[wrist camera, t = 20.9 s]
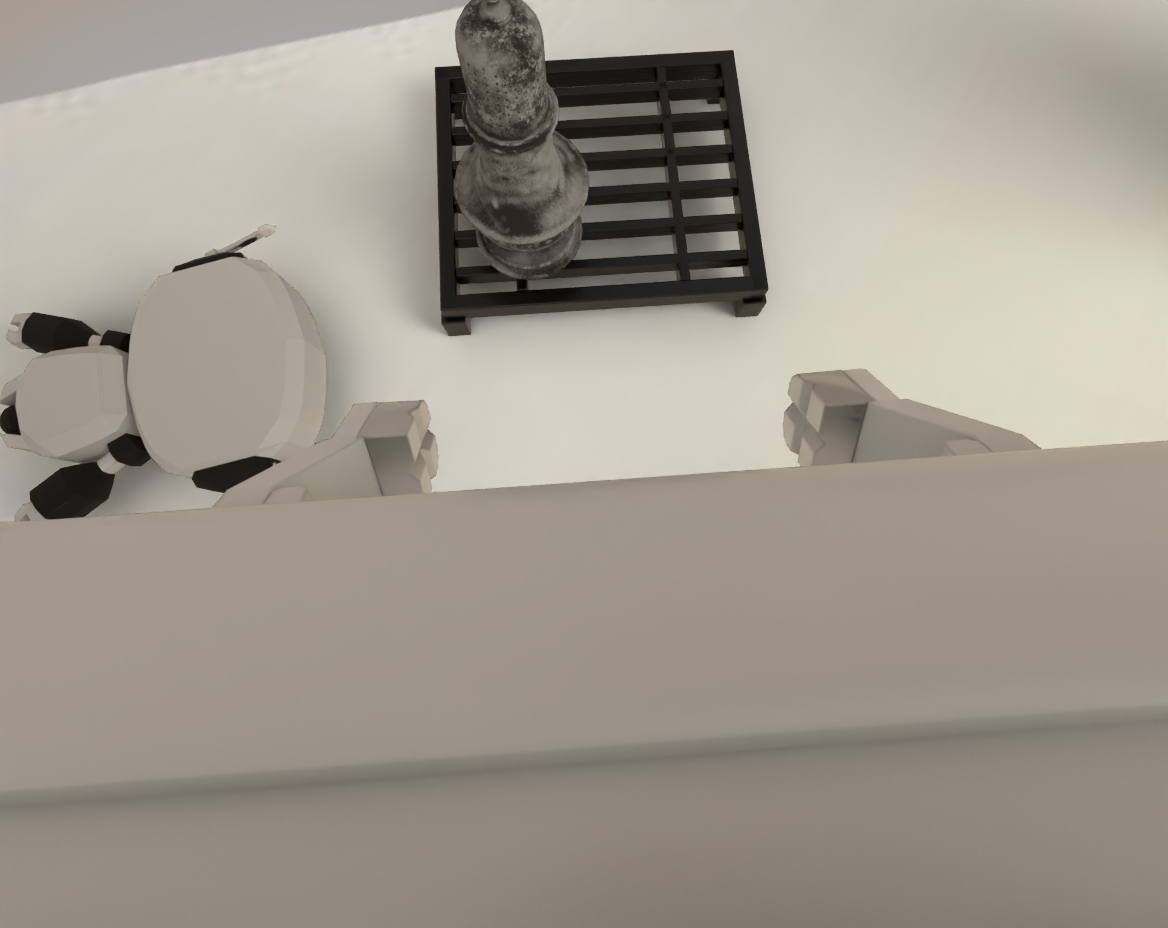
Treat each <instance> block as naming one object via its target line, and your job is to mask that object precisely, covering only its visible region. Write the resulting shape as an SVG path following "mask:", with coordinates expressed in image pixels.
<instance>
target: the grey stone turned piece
mask: <svg viewBox="0 0 1168 928" xmlns="http://www.w3.org/2000/svg"><path fill="white" fill-rule="evenodd" d="M455 40H456V49H457V53H458V57H459V61H460V65H461V70H462V74H463V78H464V82H465V86H466V90H467V93H466V95H465V97H464V100H463V105H462V116H463V122H464V125H465V127H466V129H467V132H468V133H469V134H470V136H471V137H472V138H473V139H474V140H475V142H474V143H473V144H472V145H471V146H470V147H469V148H468V149H467V150H466V151H465V153H464V155H463V156H462V158H461V160H460V162H459V164H458V166H457V170H456V175H455V180H454V186H455V196H456V200H457V202H458V205H459V207H460V210H461V212H462V214H463V215H464V216H465V218H466V219H467V220H468V221H469V223H470V224H471V225H472V226H473V227H474V228H476V236H477V243H478V246H479V248H480V251H481V253H482V255H483V256H484V258H485V259H486V260H487V262H488V263H489V264H490V265H491V266H492V267H494V268H495V269H496V270H498V271H499V272H500V273H502V274H505V275H507V276H510V277H513V278H517V279H525V280H532V279H541V278H544V277H547V276H550V275H552V274H555V273H557V272H558V271H560V270H561V269H563V268H564V267H565V266H567V265H568V263H569V262H570V261H571V260H572V259H573V258H574V256H575V255H576V253H577V251H578V249H579V246H580V244H581V239H582V232H583V229H582V222H581V217H580V213H581V211H582V209H583V207H584V205H585V203H586V201H587V196H588V190H589V176H588V170H587V166H586V164H585V161H584V159H583V157H582V155H581V153H580V152H579V150H578V149H577V148H576V147H575V146H574V145H573V144H572V142H571V141H570V140H568V139H567V138H565V137H564V136H562V135H561V134H559V133H558V132H556V131H554V130H555V127H556V125H557V123H558V117H559V106H558V99H557V97H556V95H555V93H554V91H553V89H552V88H551V87H550V86H549V85H548V83H547V81H546V68H545V54H544V41H543V34H542V29H541V26H540V23H539V20H538V18H537V16H536V14H535V13H534V12H533V11H532V9H531V8H530V7H529V6H528V5H527V4H526V3H525V2H524V1H522V0H471V1H470V2H469V3H468V4H467V5H466V6H465V8H464V10H463V11H462V13H461V15H460V17H459V19H458V21H457V25H456V30H455Z"/></svg>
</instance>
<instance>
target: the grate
mask: <svg viewBox="0 0 1168 928" xmlns="http://www.w3.org/2000/svg"><path fill="white" fill-rule="evenodd" d="M545 68H546V81H547V83H548V85H549V86H550V87H551V88H552V89H553V91H554V93H555V95H556V97H557V99H558V106H559V108H560V107H577V106H594V105H611V104H628V103H645V102H657V106H658V115H649V116H633V117H616V118H599V119H582V120H565V121H558V123H557V125H556V127H555V130H554V131H556V132H558V133H559V134H561V135H562V136H564V137H565V138H567V139H582V138H599V137H615V136H632V135H649V134H661V141H662V148H659V149H642V150H626V151H609V152H593V153H581V155H582V157H583V159H584V161H585V164H586V166H587V170H588V171H600V170H617V169H633V168H650V167H664V168H665V176H666V183H650V184H633V185H617V186H601V187H589V190H588V196H587V201H586V203H585V205H601V204H618V203H634V202H650V201H666V200H668V203H669V212H670V218H658V219H642V220H626V221H610V222H594V223H582V229H583V232H582V239H581V241H584V240H599V239H615V238H631V237H647V236H663V235H672V238H673V247H674V254H664V255H648V256H633V257H617V258H601V259H585V260H571V261H570V262H569V263H568V265H567V266H565V267H564V268H563V269H561V270H560V271H558V272H557V273H555V274H552V275H550V276H547V277H544V278H541V279H551V278H567V277H583V276H598V275H614V274H630V273H645V272H661V271H676V274H677V281H668V282H653V283H637V284H621V285H606V286H590V287H575V288H559V289H544V290H528V280H525V279H517V278H513V277H510V276H507V275H505V274H502V273H500V272H499V271H498V270H496V269H495V268H494V267H492V266H475V267H459V248H472V247H479V246H478V243H477V236H476V230H465V231H458V213H462V212H461V210H460V207H459V205H458V202H457V200H456V196H455V186H454V180H455V175H456V170H457V166H458V164H459V162H460V161H456V146H465V145H472V144H473V143H474V142H475V140H474V139H473V138H472V137H471V136H470V134H469V133H468V132H467V129H466V127H465V126H464V127H455V119H463V116H462V105H463V100H464V97H465V95H466V94H461V93H467V90H466V86H465V82H464V78H463V74H462V70H461V66H448V67H435V91H436V133H437V176H438V218H439V260H440V306H441V319H442V325H443V327H444V329H445V330H446V332H447V334H448V336H457V335H470V334H471V320H470V318H474V317H489V316H505V315H520V314H535V313H551V312H566V311H582V310H597V309H612V308H628V307H643V306H658V305H674V304H689V303H705V302H720V301H734V308H735V316H736V317H746V316H757V315H758V314H759V313H760V311H761V310H762V308H763V307H764V305H765V304H766V296H765V294H766V292H767V291H768V283H767V276H766V269H765V262H764V255H763V249H762V242H761V235H760V228H759V221H758V215H757V208H756V201H755V194H754V187H753V181H752V174H751V167H750V160H749V153H748V147H747V140H746V133H745V126H744V119H743V113H742V106H741V99H740V92H739V85H738V79H737V72H736V65H735V58H734V51H733V50H727V51H709V52H692V53H674V54H657V55H640V56H622V57H605V58H587V59H570V60H553V61H545ZM701 79H706V80H701ZM684 80H689V81H684ZM667 81H672V82H667ZM650 82H655V83H650ZM633 83H638V84H633ZM615 84H620V85H615ZM598 85H603V86H598ZM581 86H586V87H581ZM564 87H569V88H564ZM696 99H707V103H708V104H719V103H720V107H721V111H717V112H700V113H683V114H671V110H670V102H669V101H679V100H696ZM716 130H724V136H725V143H726V144H725V145H709V146H692V147H676V148H675V144H674V136H673V133H682V132H699V131H716ZM716 163H728V165H729V172H730V179H715V180H699V181H682V182H679V178H678V170H677V166H683V165H699V164H716ZM731 196H733V201H734V208H735V214H722V215H706V216H690V217H683V212H682V203H681V200H682V199H698V198H715V197H731ZM585 205H584V206H585ZM727 231H738V237H739V244H740V250H727V251H711V252H696V253H687V246H686V237H685V234H695V233H711V232H727ZM739 266H743V273H744V277H730V278H715V279H699V280H690V271H689V270H692V269H708V268H723V267H739ZM532 280H536V279H532ZM505 281H517V291H513V292H497V293H482V294H466V295H460V284H473V283H489V282H505Z"/></svg>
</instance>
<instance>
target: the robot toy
mask: <svg viewBox="0 0 1168 928" xmlns="http://www.w3.org/2000/svg"><path fill="white" fill-rule="evenodd" d="M275 228H276V225H270V224H265V225H263V226H261V227H259V228H258V230H257V231H256V232H254V233H252V234H250V235H248V236H246V237H244V238H242V239H240V240H239V241H237V242H235V243H233V244H231V245H229V246H227V247H225V248H223V249H222V250H220V251H217V250H215V249H213V250H212V251H210V252H208V253H206V254H205V257H203V258H199V259H195V260H193V261H190V262H188V263H184V264H181V265H178V266H175V268H174V269H173V271H172V273H169V274H165V275H162V276H159V277H158V278H157V279H156V281H155V282H154V283H153V285H152V286H151V287H150V289H149V290H148V291H147V293H146V294H145V295H144V297H143V298H142V300H141V301H140V302H139V305H138V308H137V311H136V314H135V318H134V323H133V327H132V332H131V334H127V333H122V332H116V331H110V330H107V332H106V333H105V334H104V335H103V336H100V335H99V334H98V333H97V332H96V331H94V330H93V329H92V328H90V327H89V326H88V325H86V324H85V323H83V322H82V321H79V320H74V319H69V318H64V317H58V316H52V315H46V314H41V313H35V312H33V313H24V314H15V316H14V317H13V319H12V321H11V324H12V325H16V326H18V327H19V329H18V331H17V332H14V331H11V330H9V329H8V332H7V334H6V339H7V340H8V341H9V342H10V343H11V344H12V345H15V346H17V347H19V348H21V349H33V350H35V351H36V352H40V353H45V354H44V355H42V356H39V357H37V358H35V359H33V360H32V361H31V362H30V363H29V365H28V367H27V368H26V370H25V371H24V373H23V374H22V375H20V376H18V377H17V378H15V379H14V380H12V381H11V382H9V383H7V384H6V385H5V386H4V389H3V391H2V393H1V396H0V404H4V405H8V406H10V407H8V408H6V409H5V410H4V411H3V413H2V414H1V416H0V426H1V428H2V430H3V431H4V432H5V433H6V434H4V433H0V436H1V437H2V439H3V440H4V442H5V443H6V445H7V447H11V448H16V449H22V450H27V451H32V452H35V453H37V454H38V455H40V456H45V457H50V458H56V459H61V460H67V461H72V462H77V463H83V464H79V465H74V466H69V467H64V468H61V469H59V470H58V471H57V472H55V473H54V474H53V475H51V476H50V477H49V478H47V479H46V480H45V481H43V482H42V483H41V484H39V485H38V486H37V487H35V488H34V489H33V490H31V491H30V501H31V502H30V503H26V504H23V506H22V507H21V508H20V509H19V510H18V512H17V513H16V514H15V515H14V518H15V521H38V520H52V519H66V518H81V517H85V516H86V515H87V514H89V513H90V512H91V511H93V510H94V509H95V508H97V507H98V506H99V505H100V504H102V503H103V502H104V501H106V500H107V499H108V498H109V495H110V492H111V489H112V485H113V482H114V477H115V474H116V473H117V472H118V471H119V470H121V469H122V468H123V467H125V466H126V465H129V466H142V465H143V464H144V463H146V462H147V461H148V460H150V459H151V458H152V459H153V460H154V461H155V462H156V463H157V464H158V465H159V466H160V467H161V468H162V469H163V470H164V471H165V472H166V473H170V474H175V475H179V476H183V477H188V478H192V480H193V482H194V483H195V485H196V487H198V488H202V489H207V490H211V491H217V492H222V493H225V492H226V490H228V489H230V488H232V487H234V486H236V485H238V484H239V483H241V482H243V481H245V480H247V479H249V478H251V477H253V476H255V475H257V474H259V473H261V472H263V471H265V470H267V469H268V468H270V467H272V466H274V465H276V464H278V463H280V462H282V461H284V460H286V459H288V458H290V457H292V456H294V455H296V454H297V453H299V452H301V451H303V450H305V449H307V448H309V447H311V446H313V444H314V442H315V440H316V438H317V436H318V434H319V432H320V430H321V426H322V422H323V418H324V410H325V402H326V353H325V350H324V347H323V344H322V341H321V338H320V336H319V333H318V330H317V327H316V324H315V321H314V318H313V316H312V314H311V312H310V310H309V308H308V306H307V304H306V302H305V300H304V299H303V298H302V296H301V295H300V293H299V292H298V291H297V290H295V289H294V288H293V287H292V286H291V285H290V284H288V283H287V282H286V281H285V280H284V279H283V278H281V277H280V276H279V275H278V274H277V273H275V272H274V271H273V270H272V269H271V268H269V267H268V266H267V265H266V264H265V263H263V262H262V261H260V260H253V259H248V258H247V257H245V256H244V255H243V254H242V253H233V252H235V251H237V250H239V249H241V248H243V247H245V246H247V245H249V244H251V243H253V242H255V241H256V240H258V239H260V238H262V237H264V236H265V237H268V236H270V235H271V234H273V233H274V232H275Z"/></svg>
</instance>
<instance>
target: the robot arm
mask: <svg viewBox="0 0 1168 928" xmlns="http://www.w3.org/2000/svg"><path fill="white" fill-rule="evenodd" d="M788 395H789V396H790V398H791V400H792V401H793V403H792V404H791V405H790V406H789V407H788V408H787V410H786V411H785V413H784V421H783V432H784V438H785V441H786V444H787V446H788V448H789V449H790V451H792V452H794V453H796V454H798V455H799V458H798V463H799V464H800V466H801V467H787V468H773V469H759V470H745V471H730V472H716V473H702V474H688V475H674V476H659V477H645V478H631V479H617V480H603V481H588V482H574V483H560V484H546V485H532V486H518V487H503V488H489V489H475V490H461V491H447V492H432V493H431V490H432V485H431V481H430V480H431V479H432V478H433V477H435V476H436V473H437V469H438V448H437V442H436V438H435V436H434V435H433V434H432V433H431V432H430V431H429V430H428V429H427V428H428V425H429V423H430V420H431V417H430V413H429V410H428V406H427V404H426V402H425V401H424V400H418V401H398V402H380V403H378V402H372V403H362V404H354V405H353V406H352V408H351V409H350V411H349V412H348V414H347V415H346V417H345V418H344V420H343V422H342V423H341V425H340V426H339V428H338V429H337V431H336V432H335V434H334V436H333V437H332V439H328V440H323V441H321V442H319V443H317V444H315V445H313V446H311V447H309V448H307V449H305V450H303V451H301V452H299V453H297V454H296V455H294V456H292V457H290V458H288V459H286V460H284V461H282V462H280V463H278V464H276V465H274V466H272V467H270V468H268V469H267V470H265V471H263V472H261V473H259V474H257V475H255V476H253V477H251V478H249V479H247V480H245V481H243V482H241V483H239V484H238V485H236V486H234V487H232V488H230V489H228V490H226V492H225V493H224V494H223V495H222V497H221V498H220V499H219V500H218V501H217V503H216V504H215V505H214V506H213V508H207V509H193V510H179V511H165V512H151V513H137V514H123V515H109V516H95V517H81V518H66V519H52V520H38V521H13V522H0V928H1168V441H1154V442H1140V443H1126V444H1112V445H1097V446H1083V447H1069V448H1055V449H1041V448H1040V447H1038V446H1037V445H1036V444H1034V443H1033V442H1032V441H1030V440H1029V439H1027V438H1026V437H1025V436H1023V435H1022V434H1019V433H1016V432H1012V431H1009V430H1006V429H1003V428H999V427H996V426H993V425H990V424H987V423H983V422H980V421H977V420H974V419H970V418H967V417H964V416H961V415H957V414H954V413H951V412H948V411H944V410H941V409H938V408H935V407H931V406H928V405H925V404H922V403H918V402H915V401H912V400H909V399H899V398H898V397H897V396H896V395H894V394H893V393H892V392H891V391H890V390H889V389H888V388H886V387H885V386H884V385H883V384H882V383H881V382H880V381H878V380H877V379H876V378H875V377H874V376H873V375H872V374H871V373H869V372H868V371H867V370H866V369H852V370H843V371H842V370H836V371H825V372H814V373H803V374H797V375H794V376H793V377H792V379H791V381H790V384H789V390H788Z"/></svg>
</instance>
